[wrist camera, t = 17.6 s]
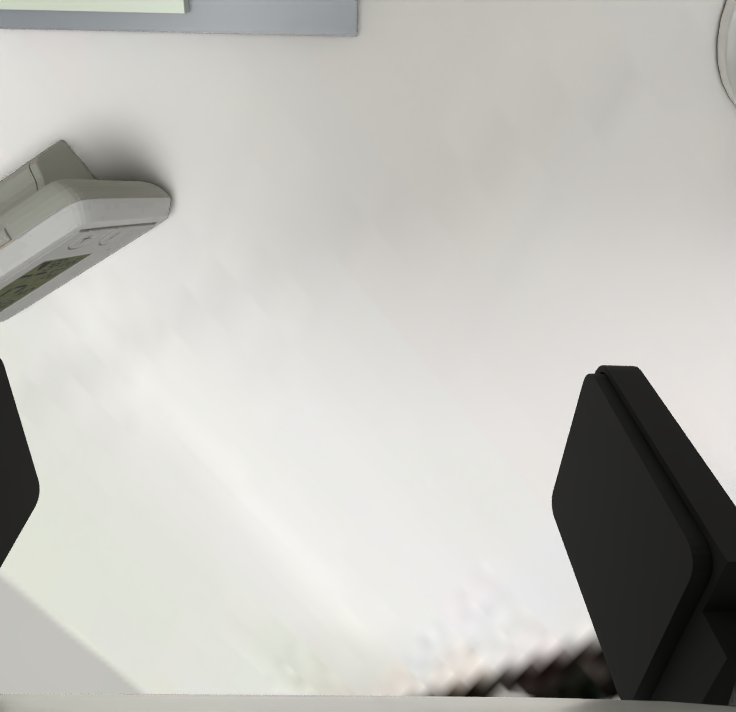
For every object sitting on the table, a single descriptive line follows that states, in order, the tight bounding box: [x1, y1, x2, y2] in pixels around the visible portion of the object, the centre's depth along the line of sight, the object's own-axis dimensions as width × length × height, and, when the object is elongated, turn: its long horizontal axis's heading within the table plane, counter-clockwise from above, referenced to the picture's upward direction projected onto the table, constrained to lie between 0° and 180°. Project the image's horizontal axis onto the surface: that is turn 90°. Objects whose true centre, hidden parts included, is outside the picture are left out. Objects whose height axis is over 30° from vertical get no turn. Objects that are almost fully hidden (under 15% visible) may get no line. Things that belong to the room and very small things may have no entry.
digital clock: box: [0, 140, 171, 322], centre depth 37 cm, size 16×9×11 cm, turn 109°
